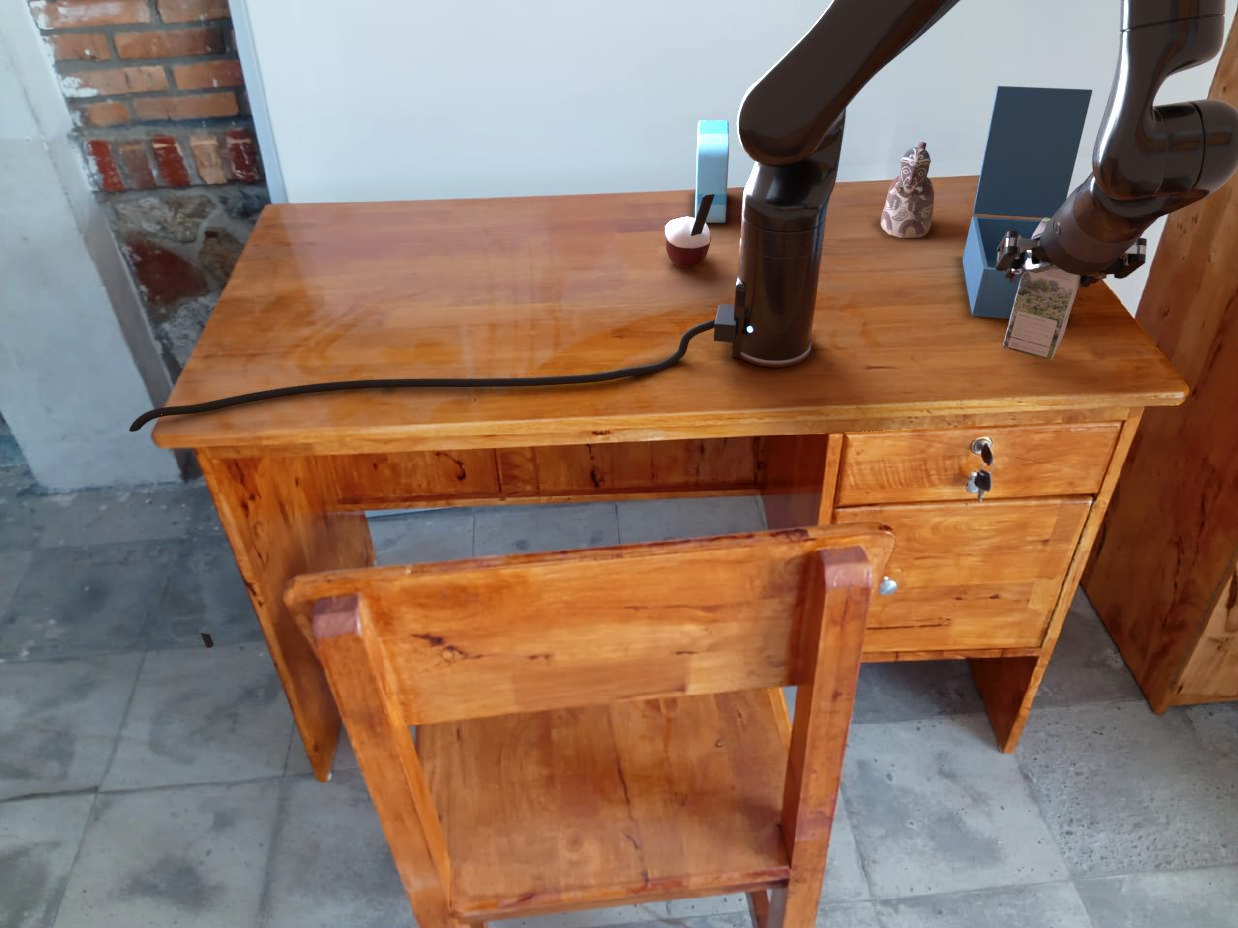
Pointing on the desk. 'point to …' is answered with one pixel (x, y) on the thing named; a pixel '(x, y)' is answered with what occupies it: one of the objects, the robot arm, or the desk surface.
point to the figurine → (910, 197)
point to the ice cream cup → (689, 237)
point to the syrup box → (1041, 309)
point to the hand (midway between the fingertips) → (1047, 276)
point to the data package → (712, 167)
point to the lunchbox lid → (1031, 150)
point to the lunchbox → (991, 265)
